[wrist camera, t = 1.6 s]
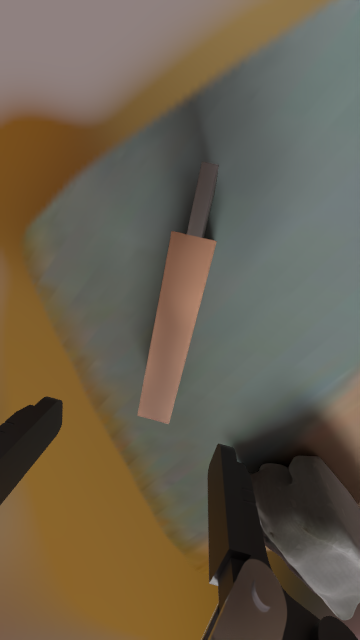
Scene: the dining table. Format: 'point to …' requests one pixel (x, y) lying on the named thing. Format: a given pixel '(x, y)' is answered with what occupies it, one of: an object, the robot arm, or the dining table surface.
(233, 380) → the dining table surface
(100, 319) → the dining table surface
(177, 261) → the bed rail
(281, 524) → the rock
